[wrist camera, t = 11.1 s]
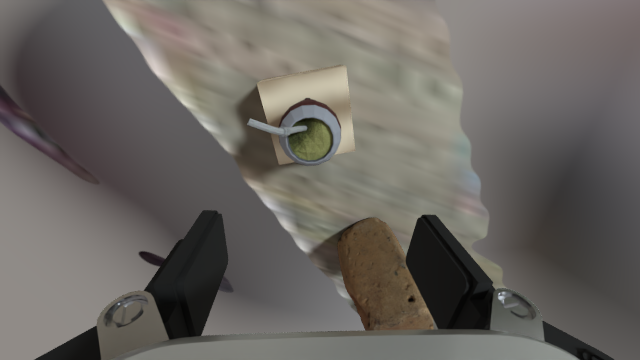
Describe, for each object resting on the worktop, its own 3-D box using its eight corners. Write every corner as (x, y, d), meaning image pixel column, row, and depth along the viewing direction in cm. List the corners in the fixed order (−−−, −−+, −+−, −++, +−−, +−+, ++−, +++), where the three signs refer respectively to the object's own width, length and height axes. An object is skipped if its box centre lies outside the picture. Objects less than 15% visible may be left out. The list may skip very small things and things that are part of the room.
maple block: (348, 138, 39) (355, 150, 34) (282, 150, 39) (279, 164, 34) (339, 64, 34) (346, 65, 29) (263, 79, 34) (256, 83, 29)
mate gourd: (335, 146, 33) (357, 204, 20) (278, 149, 33) (261, 211, 19) (334, 89, 30) (360, 112, 16) (271, 92, 29) (245, 119, 16)
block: (384, 210, 46) (436, 307, 28) (393, 238, 49) (445, 340, 31) (331, 229, 47) (348, 333, 29) (343, 255, 50) (366, 363, 32)
